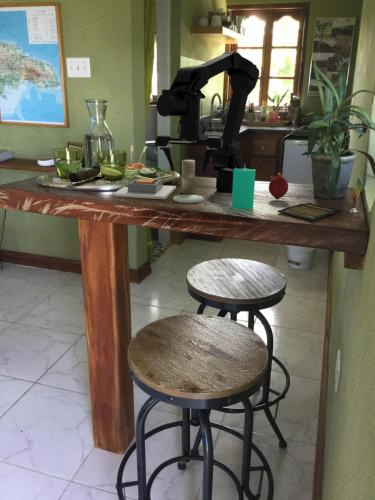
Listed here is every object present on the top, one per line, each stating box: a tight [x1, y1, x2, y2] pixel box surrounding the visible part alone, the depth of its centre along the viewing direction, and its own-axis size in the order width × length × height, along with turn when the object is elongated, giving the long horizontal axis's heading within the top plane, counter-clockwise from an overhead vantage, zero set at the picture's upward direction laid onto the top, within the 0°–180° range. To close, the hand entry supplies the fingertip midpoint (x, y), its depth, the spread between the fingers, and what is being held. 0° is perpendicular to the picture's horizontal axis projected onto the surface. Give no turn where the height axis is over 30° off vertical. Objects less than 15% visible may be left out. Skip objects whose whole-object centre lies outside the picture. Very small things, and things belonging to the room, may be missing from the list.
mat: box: [173, 194, 205, 204], centre depth 133 cm, size 9×9×1 cm
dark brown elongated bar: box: [68, 164, 100, 182], centre depth 157 cm, size 19×4×5 cm, turn 154°
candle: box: [231, 164, 257, 210], centre depth 124 cm, size 6×6×12 cm
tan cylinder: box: [181, 159, 196, 195], centre depth 141 cm, size 4×4×10 cm
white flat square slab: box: [112, 178, 177, 200], centre depth 141 cm, size 16×16×3 cm
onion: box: [268, 172, 289, 200], centre depth 134 cm, size 6×6×8 cm
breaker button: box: [136, 178, 156, 184], centre depth 141 cm, size 5×5×1 cm
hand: (188, 172), depth 130 cm, fingers open, 9 cm apart
